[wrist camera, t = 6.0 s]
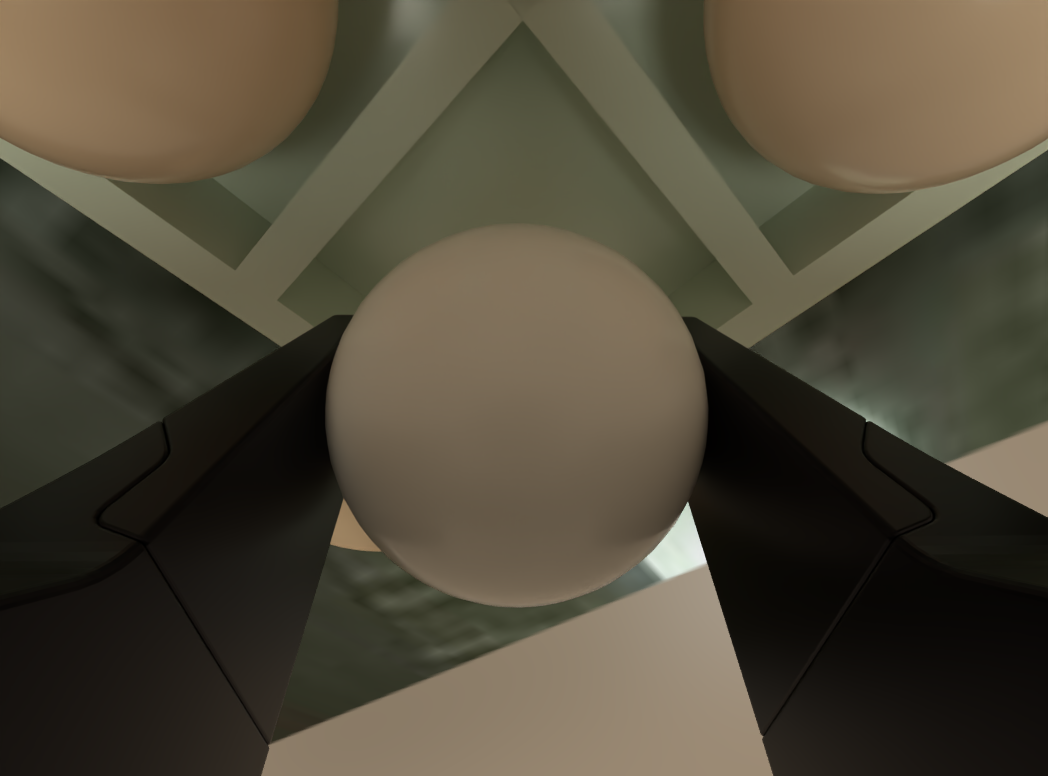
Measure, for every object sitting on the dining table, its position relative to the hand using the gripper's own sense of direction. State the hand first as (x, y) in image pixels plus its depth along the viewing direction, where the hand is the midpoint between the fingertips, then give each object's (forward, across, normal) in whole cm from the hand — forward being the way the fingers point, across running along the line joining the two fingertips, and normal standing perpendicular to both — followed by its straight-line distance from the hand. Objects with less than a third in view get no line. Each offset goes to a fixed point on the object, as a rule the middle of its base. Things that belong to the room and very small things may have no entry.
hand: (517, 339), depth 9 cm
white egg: (+1, 0, 0) cm, 1 cm away
